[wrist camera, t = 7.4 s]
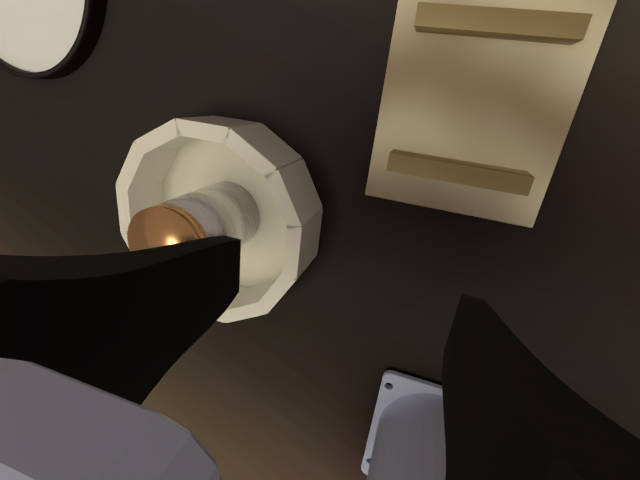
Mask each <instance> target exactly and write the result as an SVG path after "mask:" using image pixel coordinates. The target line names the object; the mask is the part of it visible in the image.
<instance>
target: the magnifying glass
mask: <svg viewBox="0 0 640 480" xmlns="http://www.w3.org/2000/svg"><path fill="white" fill-rule="evenodd" d="M106 6H107V0H0V68H1V69H2V70H4V71H6V72H8V73H11V74H13V75H16V76H20V77H25V78H31V79H55V78H61V77H64V76H66V75H69V74H71V73H72V72H74V71H75V70H77V69H78V68H79V67H80V66H81V65H82V64H83V63H84V62H85V61H86V60H87V59H88V57H89V56H90V55H91V53H92V51H93V50H94V48H95V46H96V44H97V42H98V39H99V36H100V34H101V31H102V27H103V23H104V19H105V14H106Z"/></svg>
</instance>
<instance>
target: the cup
mask: <svg viewBox="0 0 640 480" xmlns="http://www.w3.org/2000/svg"><path fill="white" fill-rule="evenodd" d="M302 158H303V157H302V156H300V155H299V154H298V153H297V152H296V151H295V150H293V149H292V148H291V147H290V146H289V145H287V144H286V143H285V142H284V141H283V140H282V139H280V138H279V137H278V136H277V135H276V134H275V133H273V132H272V131H271V130H270V129H269V128H267V127H266V126H265V125H264V124H261V123H259V122H253V121H247V120H240V119H234V118H228V117H222V116H202V117H187V118H175V119H173V120H171V121H169V122H167V123H165V124H164V125H162V126H160V127H158V128H156V129H155V130H153V131H151V132H149V133H147V134H145V135H144V136H142V137H140V138H138V139H136V140H135V142H133V144H132V146H131V149H130V151H129V153H128V156H127V158H126V160H125V163H124V165H123V168H122V170H121V172H120V175H119V177H118V179H117V182H116V184H117V185H116V193H117V203H118V212H119V222H120V232H121V233H122V234H121V235H122V237H123V238H124V240H125V242H126V244H127V246H128V240H127V232H128V226H129V223H130V221H131V219H132V218H133V217H134V215H135V214H136V213H138V212H139V211H141V210H143V209H146V208H148V207H151V206H154V205H157V204H159V203H162V202H165V201H168V200H170V199H173V198H176V197H179V196H181V195H184V194H187V193H190V192H192V191H195V190H198V189H201V188H204V187H206V186H209V185H212V184H215V183H217V182H221V181H230V182H234V183H237V184H239V185H241V186H242V187H244V188H245V189H246V190H247V191H248V192H249V193H250V194H251V195H252V196H253V198H254V199H255V201H256V203H257V206H258V208H259V212H260V225H259V228H258V231H257V233H256V234H255V236H254V237H253V238H252V239H251V240H249V241H248V242H247V243H245V244H244V245H242V246H241V255H240V283H239V293H238V294H237V295H236V297H235V298H234V300H233V301H232V303H231V304H230V305H229V307H228V308H227V309H226V311H225V312H224V313H223V314H222V315H221V316H220V317H219V318H218V319H217V321H220V322H223V323H225V322H226V323H229V322H233V321H238V320H242V319H247V318H251V317H256V316H260V315H265V314H267V313H268V312H269V311H270V310H271V309H272V308H273V307H274V305H275V304H276V303H277V302H278V301H279V300H280V299H281V297H282V296H283V295H284V294H285V293H286V292H287V290H288V289H289V288H290V287H291V286H292V285H293V284H294V282H295V281H296V280H297V279H298V278H299V276H300V275H301V274H302V273H303V271H304V270H305V269H306V268H307V267H308V265H309V264H310V263H311V262H312V261H313V259H314V258H315V257H316V256H317V253H318V245H319V237H320V229H321V222H322V214H323V208H322V207H323V206H322V203H321V201H320V198H319V196H318V193H317V191H316V188H315V186H314V183H313V181H312V178H311V176H310V173H309V171H308V168H307V166H306V163H305V161H304V159H302ZM301 159H302V160H301ZM128 248H129V246H128Z"/></svg>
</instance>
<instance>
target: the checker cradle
mask: <svg viewBox="0 0 640 480" xmlns="http://www.w3.org/2000/svg"><path fill="white" fill-rule="evenodd" d="M616 2H617V0H398V5H397V11H396V17H395V23H394V29H393V35H392V40H391V46H390V52H389V58H388V64H387V70H386V75H385V81H384V87H383V93H382V99H381V104H380V110H379V116H378V122H377V128H376V134H375V139H374V145H373V151H372V157H371V163H370V169H369V174H368V180H367V186H366V192H365V195H369V196H374V197H379V198H384V199H389V200H394V201H399V202H404V203H409V204H414V205H419V206H424V207H429V208H434V209H439V210H445V211H450V212H455V213H460V214H465V215H470V216H475V217H480V218H485V219H490V220H495V221H500V222H505V223H510V224H515V225H520V226H525V227H530V228H533V225H534V223H535V220H536V217H537V214H538V212H539V209H540V206H541V204H542V201H543V198H544V196H545V193H546V190H547V188H548V185H549V182H550V179H551V177H552V174H553V171H554V169H555V166H556V163H557V161H558V158H559V155H560V153H561V150H562V147H563V144H564V142H565V139H566V136H567V134H568V131H569V128H570V126H571V123H572V120H573V118H574V115H575V112H576V109H577V107H578V104H579V101H580V99H581V96H582V93H583V91H584V88H585V85H586V83H587V80H588V77H589V74H590V72H591V69H592V66H593V64H594V61H595V58H596V56H597V53H598V50H599V48H600V45H601V42H602V39H603V37H604V34H605V31H606V29H607V26H608V23H609V21H610V18H611V15H612V13H613V10H614V7H615V5H616Z"/></svg>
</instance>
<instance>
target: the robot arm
mask: <svg viewBox="0 0 640 480" xmlns="http://www.w3.org/2000/svg"><path fill="white" fill-rule="evenodd" d="M240 255H241V239H237V238H233V237H229V236H213V237H207V238H201V239H196V240H191V241H186V242H181V243H176V244H171V245H166V246H160V247H154V248H148V249H143V250H137V251H130V252H122V253H112V254H101V255H83V256H13V255H0V480H221V479H220V475H219V472H218V468H217V465H216V462H215V459H214V458H213V457H212V456H211V454H210V453H209V452H208V451H207V450H206V448H205V447H204V446H203V445H202V444H201V442H200V441H199V440H198V439H197V438H196V436H195V435H194V434H193V433H192V432H191V431H189V430H187V429H186V428H184V427H183V426H181V425H179V424H178V423H176V422H175V421H173V420H171V419H170V418H168V417H166V416H165V415H163V414H162V413H159V412H157V411H154V410H152V409H149V408H147V407H144V406H142V405H141V404H142V403H143V401H144V400H145V399H146V397H147V396H148V395H149V393H150V392H151V391H152V389H153V388H154V387H155V386H156V385H157V383H158V382H159V381H160V380H161V378H162V377H163V376H164V375H165V373H166V372H167V371H168V370H169V368H170V367H171V366H172V365H173V364H174V363H175V362H176V361H177V360H178V359H179V358H180V357H181V356H182V355H183V354H184V353H185V352H186V351H187V350H188V349H189V348H190V347H191V346H192V345H193V344H194V343H195V342H196V341H197V340H198V339H199V338H200V337H201V336H202V335H203V334H204V333H205V332H206V331H207V330H208V329H209V328H210V327H211V326H212V325H213V324H214V323H215V321H216V320H217V319H218V318H219V317H220V316H221V315H222V314H223V313H224V312H225V311H226V309H227V308H228V307H229V305H230V304H231V303H232V301H233V300H234V298H235V297H236V295H237V294H238V293H239V283H240ZM387 383H391V384H392V385H388V384H387ZM361 470H362V472H363V473H364V474H366V475H367V480H640V439H638V438H637V437H635V436H634V435H632V434H631V433H629V432H628V431H626V430H625V429H623V428H622V427H620V426H619V425H618V424H616V423H615V422H614V421H612V420H611V419H609V418H608V417H607V416H605V415H604V414H603V413H601V412H600V411H598V410H597V409H596V408H594V407H593V406H592V405H590V404H589V403H588V402H586V401H585V400H584V399H583V398H581V397H580V396H579V395H578V394H576V393H575V392H574V391H573V390H572V389H570V388H569V387H568V386H567V385H566V384H565V383H563V382H562V381H561V380H560V379H559V378H557V377H556V376H555V375H554V374H553V373H552V372H551V371H550V370H549V369H548V368H546V367H545V366H544V365H543V364H542V363H541V362H540V361H539V360H538V359H537V358H536V357H535V356H534V355H533V354H532V353H531V352H530V351H529V350H528V349H527V348H526V347H525V346H524V344H523V343H522V342H521V341H520V340H519V339H518V338H517V337H516V336H515V335H514V334H513V332H512V331H511V330H510V329H509V328H508V327H507V326H506V324H505V323H504V322H503V321H502V320H501V319H500V317H499V316H498V315H497V314H496V313H495V311H494V310H493V309H492V308H491V307H490V306H489V304H488V303H487V302H486V301H485V300H483V299H479V298H475V297H471V296H467V295H463V294H462V295H461V299H460V302H459V305H458V308H457V311H456V314H455V318H454V321H453V324H452V327H451V330H450V334H449V337H448V340H447V343H446V346H445V349H444V358H443V370H442V386H441V385H438V384H435V383H432V382H429V381H425V380H422V379H419V378H416V377H412V376H409V375H406V374H403V373H399V372H396V371H393V370H387V371H385V372H384V374H383V378H382V382H381V386H380V390H379V394H378V398H377V403H376V407H375V411H374V415H373V419H372V423H371V428H370V432H369V436H368V440H367V444H366V448H365V453H364V457H363V461H362V465H361Z"/></svg>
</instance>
